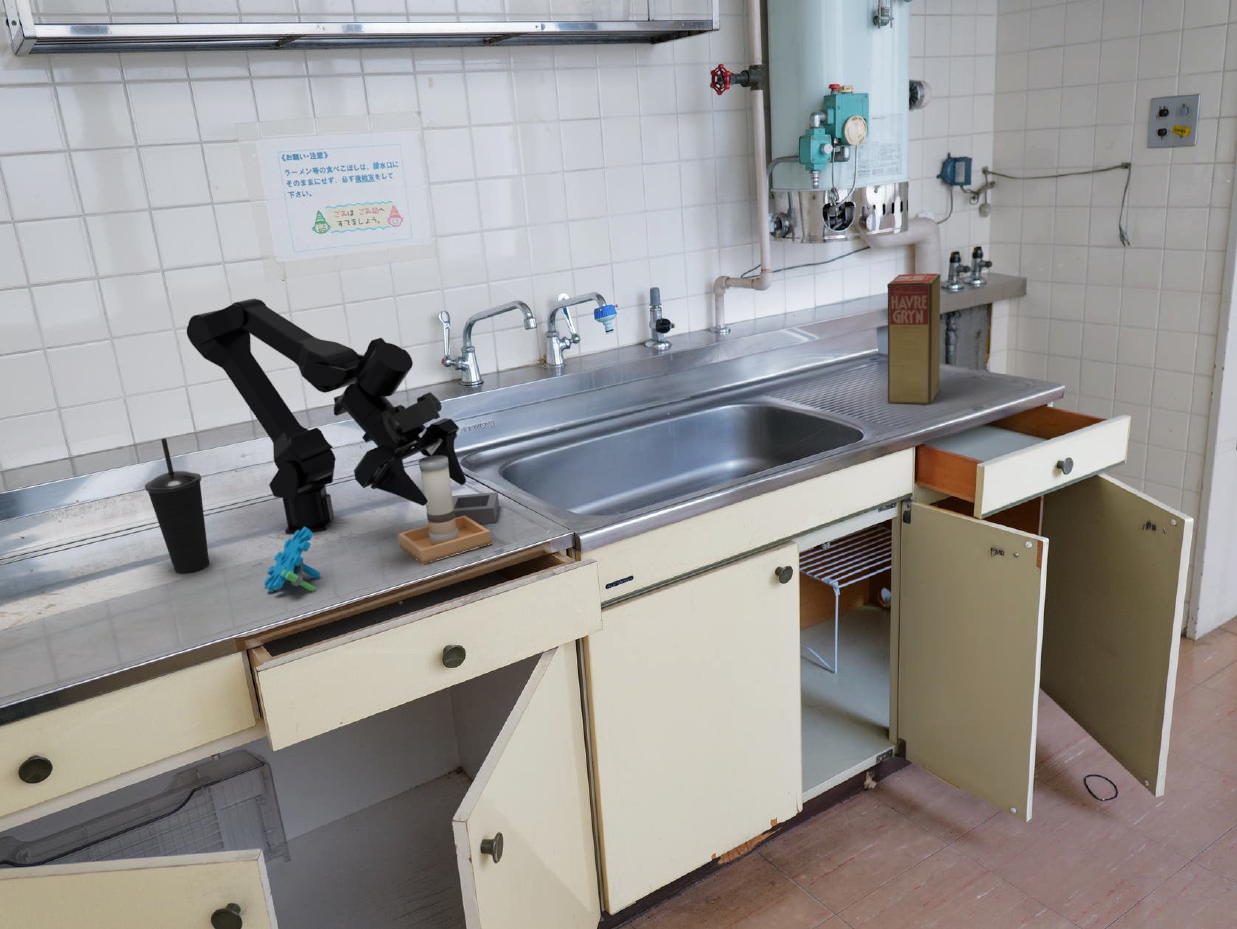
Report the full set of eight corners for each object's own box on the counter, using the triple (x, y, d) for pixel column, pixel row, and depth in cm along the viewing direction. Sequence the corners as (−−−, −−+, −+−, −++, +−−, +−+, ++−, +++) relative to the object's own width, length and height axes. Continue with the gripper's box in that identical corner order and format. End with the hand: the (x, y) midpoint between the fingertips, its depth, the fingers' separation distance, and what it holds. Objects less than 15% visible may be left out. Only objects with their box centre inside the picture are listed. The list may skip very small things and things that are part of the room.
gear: (262, 563, 143) (304, 512, 142) (297, 583, 146) (339, 533, 145) (258, 604, 134) (303, 549, 132) (296, 624, 136) (341, 571, 135)
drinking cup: (185, 581, 144) (155, 449, 138) (153, 572, 148) (123, 444, 142) (230, 561, 150) (203, 434, 144) (198, 553, 154) (170, 429, 148)
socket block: (447, 526, 157) (445, 511, 156) (453, 510, 164) (451, 495, 163) (495, 522, 157) (493, 507, 156) (499, 506, 164) (497, 492, 163)
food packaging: (896, 388, 218) (897, 273, 211) (941, 389, 214) (943, 272, 207) (885, 403, 207) (885, 282, 199) (932, 405, 203) (934, 282, 195)
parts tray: (422, 565, 143) (420, 550, 142) (399, 547, 150) (397, 533, 149) (491, 544, 148) (489, 531, 147) (466, 528, 155) (464, 515, 155)
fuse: (425, 546, 148) (413, 463, 144) (441, 535, 151) (429, 454, 148) (448, 548, 146) (437, 465, 142) (464, 538, 150) (453, 456, 146)
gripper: (356, 396, 135) (431, 480, 134) (441, 366, 151) (509, 440, 149) (323, 447, 142) (394, 528, 140) (408, 413, 157) (472, 485, 155)
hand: (445, 493), depth 146 cm, fingers open, 9 cm apart
